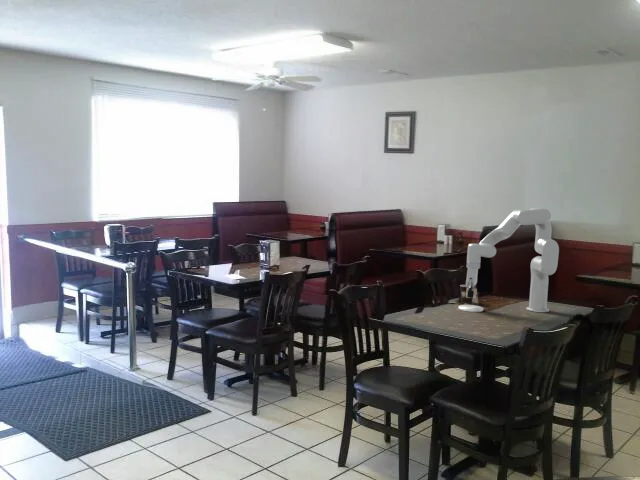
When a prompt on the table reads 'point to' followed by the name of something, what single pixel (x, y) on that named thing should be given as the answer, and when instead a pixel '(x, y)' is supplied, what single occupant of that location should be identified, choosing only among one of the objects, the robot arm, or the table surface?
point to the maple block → (473, 293)
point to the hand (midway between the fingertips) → (471, 296)
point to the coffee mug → (463, 294)
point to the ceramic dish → (470, 308)
